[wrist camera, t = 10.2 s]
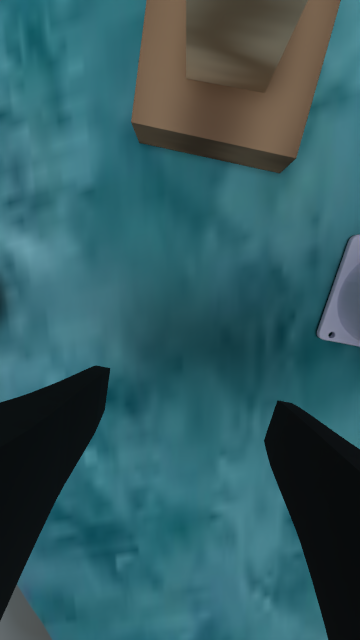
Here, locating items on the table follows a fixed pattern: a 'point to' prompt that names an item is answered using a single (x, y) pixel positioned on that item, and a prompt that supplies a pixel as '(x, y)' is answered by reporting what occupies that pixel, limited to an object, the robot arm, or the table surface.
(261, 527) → the table surface
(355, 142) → the table surface
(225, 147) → the walnut block
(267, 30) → the maple block
